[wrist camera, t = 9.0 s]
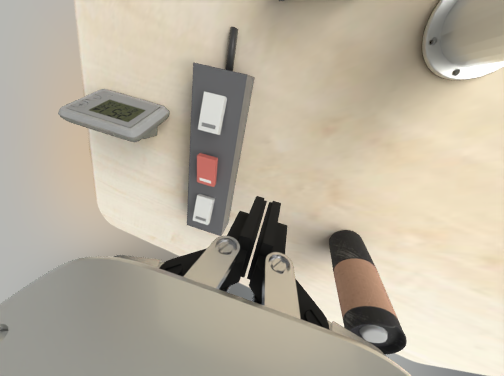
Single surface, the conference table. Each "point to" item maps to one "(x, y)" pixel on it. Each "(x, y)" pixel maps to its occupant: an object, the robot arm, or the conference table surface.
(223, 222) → the power strip
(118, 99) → the digital clock
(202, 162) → the rocker middle
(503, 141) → the conference table surface
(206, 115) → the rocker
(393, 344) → the travel mug
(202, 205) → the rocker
